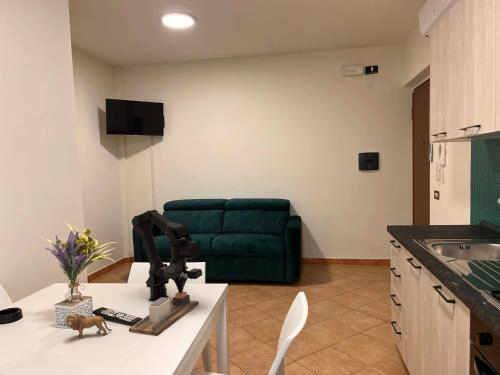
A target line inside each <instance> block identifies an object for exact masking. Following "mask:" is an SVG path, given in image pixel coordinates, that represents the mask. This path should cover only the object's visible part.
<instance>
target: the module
mask: <svg viewBox="0 0 500 375" xmlns="http://www.w3.org/2000/svg"><path fill="white" fill-rule="evenodd" d="M170 301H171V300H170V299H169V297H167V298H162V297H161V298H160V299H158V300H156V301H152V303H150V305H148V315H149V318H150V322H156V323H157V322H158V321H160V320H161V319H163V318H164V317H166V316H167V315H168V314H170V313H171V310H170Z"/></svg>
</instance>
